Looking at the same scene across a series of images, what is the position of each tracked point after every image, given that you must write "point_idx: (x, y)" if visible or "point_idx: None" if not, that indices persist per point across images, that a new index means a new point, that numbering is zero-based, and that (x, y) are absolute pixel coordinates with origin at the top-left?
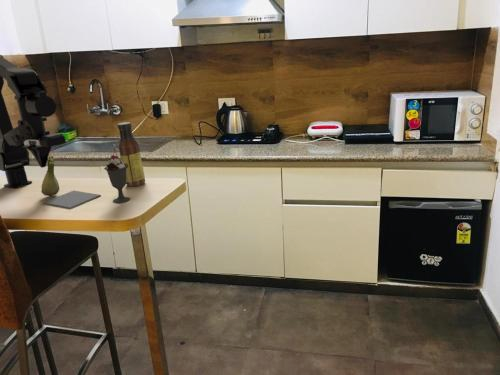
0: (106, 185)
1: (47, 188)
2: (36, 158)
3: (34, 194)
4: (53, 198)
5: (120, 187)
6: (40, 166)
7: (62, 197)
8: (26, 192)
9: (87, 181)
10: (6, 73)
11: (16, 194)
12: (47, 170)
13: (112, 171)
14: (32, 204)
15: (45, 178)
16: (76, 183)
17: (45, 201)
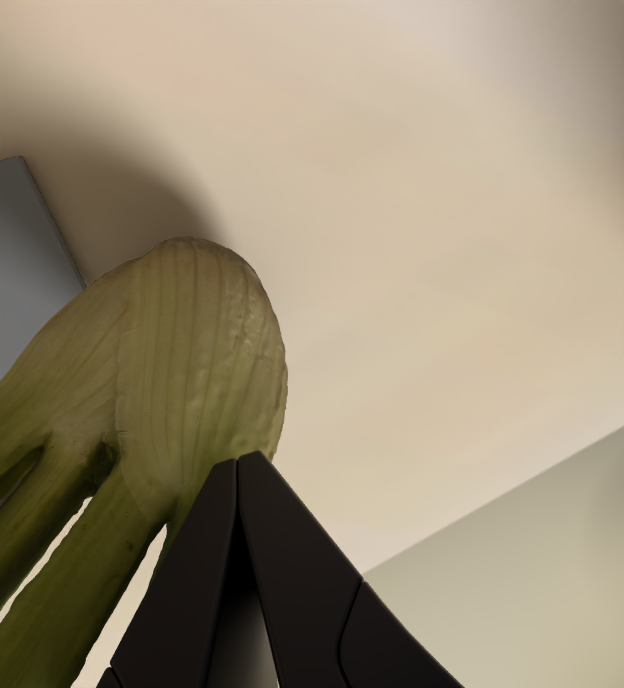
0: (120, 606)
1: (88, 291)
2: (299, 573)
3: (397, 220)
4: (65, 275)
5: None
6: (256, 456)
7: (29, 337)
8: (519, 198)
9: None
10: None
11: (559, 112)
12: (129, 467)
13: None
14: (87, 69)
15: (138, 358)
16: (352, 504)
17: (21, 187)
